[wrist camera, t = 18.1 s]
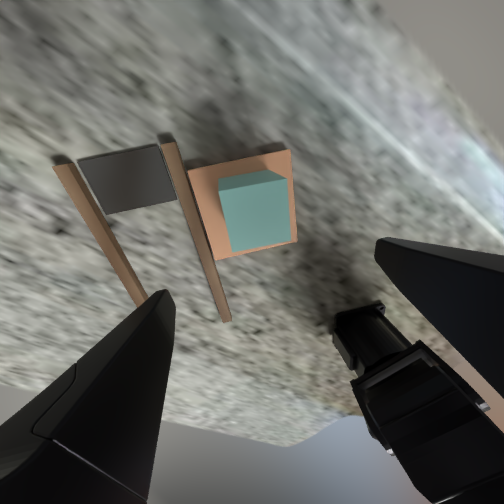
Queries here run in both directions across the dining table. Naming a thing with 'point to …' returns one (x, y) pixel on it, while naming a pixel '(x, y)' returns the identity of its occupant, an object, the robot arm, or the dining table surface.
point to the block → (255, 209)
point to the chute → (137, 205)
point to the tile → (210, 202)
